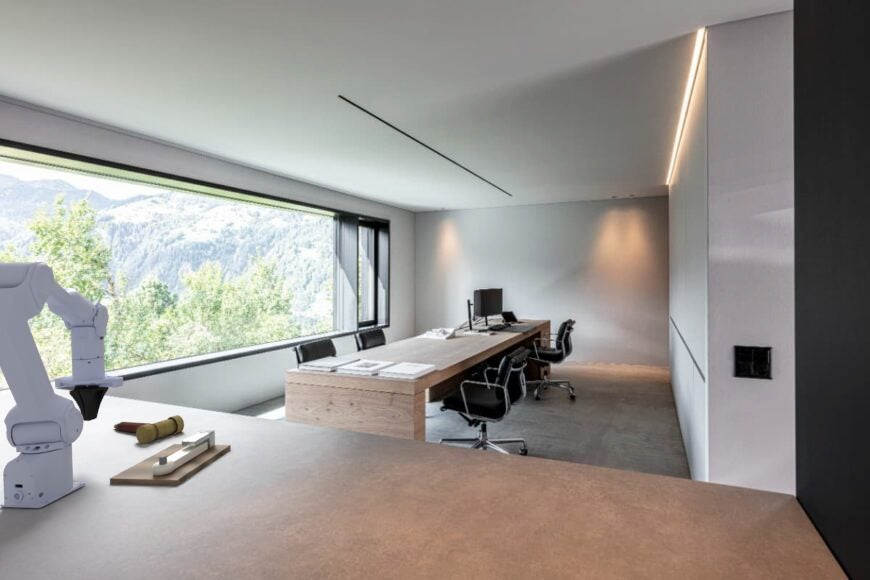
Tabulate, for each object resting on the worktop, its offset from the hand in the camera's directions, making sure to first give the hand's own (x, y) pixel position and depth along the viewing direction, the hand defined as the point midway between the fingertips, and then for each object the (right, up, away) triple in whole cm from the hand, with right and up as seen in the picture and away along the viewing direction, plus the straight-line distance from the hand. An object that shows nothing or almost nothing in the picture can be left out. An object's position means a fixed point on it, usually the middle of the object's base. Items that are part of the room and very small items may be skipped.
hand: (90, 419), depth 101 cm
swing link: (+22, -8, -4) cm, 24 cm away
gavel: (-2, -10, +20) cm, 22 cm away
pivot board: (+20, -9, -2) cm, 22 cm away
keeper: (+22, -8, +3) cm, 24 cm away
